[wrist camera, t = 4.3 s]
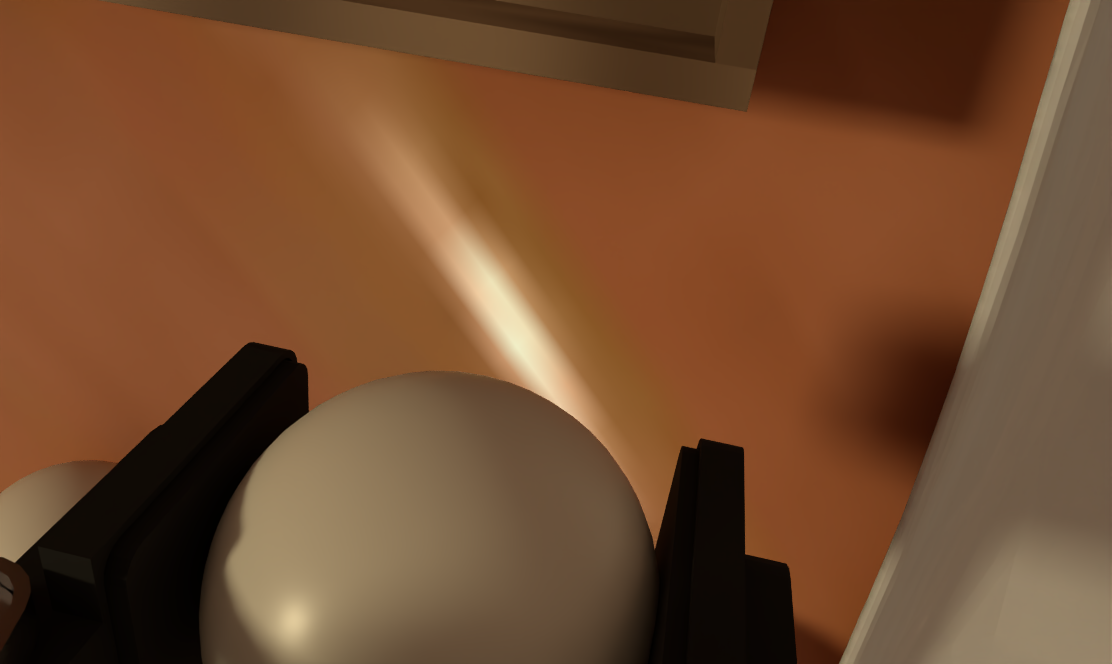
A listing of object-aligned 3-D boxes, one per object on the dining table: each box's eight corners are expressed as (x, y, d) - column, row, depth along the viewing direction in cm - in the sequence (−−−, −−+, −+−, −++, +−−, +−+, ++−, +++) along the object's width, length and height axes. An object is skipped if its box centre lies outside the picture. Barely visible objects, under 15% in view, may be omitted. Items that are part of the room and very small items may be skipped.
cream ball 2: (711, 341, 10) (692, 684, 6) (638, 625, 13) (588, 1012, 8) (320, 262, 11) (42, 524, 6) (322, 550, 13) (123, 879, 9)
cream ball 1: (225, 444, 22) (100, 582, 17) (233, 589, 24) (125, 743, 19) (43, 404, 22) (-126, 529, 18) (68, 551, 24) (-76, 694, 20)
